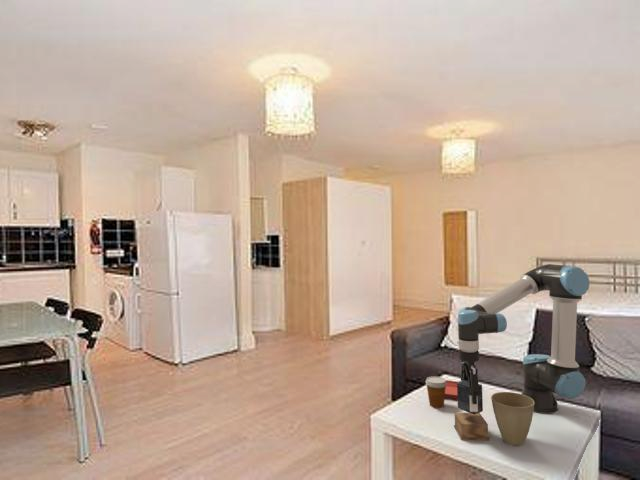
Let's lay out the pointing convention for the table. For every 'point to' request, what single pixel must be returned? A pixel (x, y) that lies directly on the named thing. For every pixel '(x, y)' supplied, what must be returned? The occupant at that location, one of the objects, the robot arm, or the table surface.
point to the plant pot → (513, 416)
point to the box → (467, 397)
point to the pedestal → (471, 426)
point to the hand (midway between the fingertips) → (470, 405)
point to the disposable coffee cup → (436, 391)
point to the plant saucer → (451, 390)
